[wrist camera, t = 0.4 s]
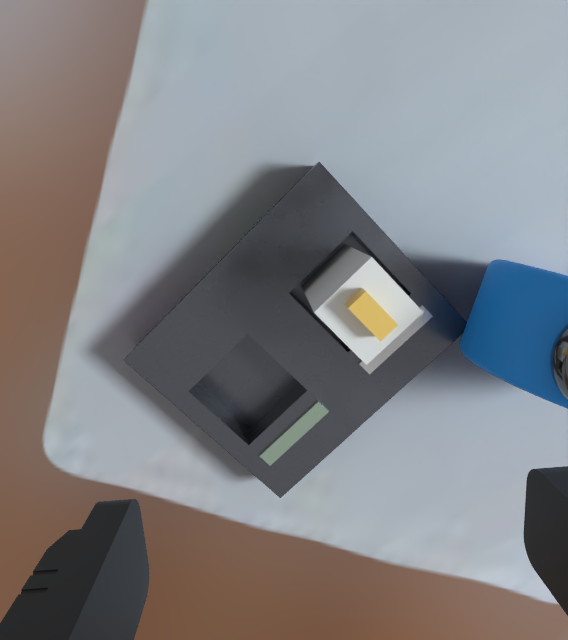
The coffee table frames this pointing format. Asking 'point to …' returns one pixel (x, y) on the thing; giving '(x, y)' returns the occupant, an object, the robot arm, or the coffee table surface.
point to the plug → (360, 302)
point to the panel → (288, 338)
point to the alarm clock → (521, 329)
